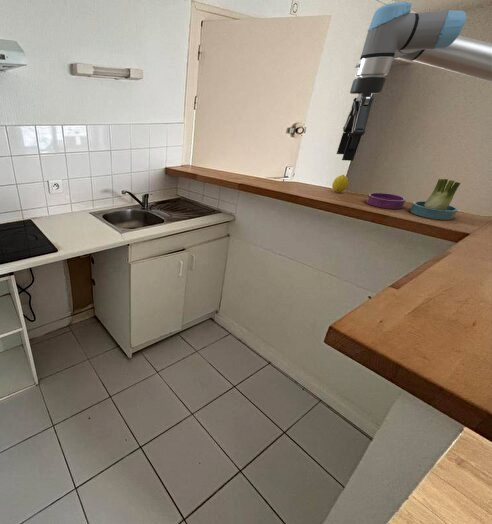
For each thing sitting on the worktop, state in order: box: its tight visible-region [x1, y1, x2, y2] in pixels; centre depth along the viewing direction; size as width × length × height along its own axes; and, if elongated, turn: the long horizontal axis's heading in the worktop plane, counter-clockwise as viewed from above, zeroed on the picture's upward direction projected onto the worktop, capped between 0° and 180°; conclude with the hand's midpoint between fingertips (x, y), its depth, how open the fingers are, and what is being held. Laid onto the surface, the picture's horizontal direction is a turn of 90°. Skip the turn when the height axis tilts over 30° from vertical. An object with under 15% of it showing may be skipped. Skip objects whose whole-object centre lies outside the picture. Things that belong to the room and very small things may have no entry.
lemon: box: [331, 174, 349, 194], centre depth 122 cm, size 6×6×8 cm
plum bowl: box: [365, 192, 407, 210], centre depth 108 cm, size 11×11×4 cm
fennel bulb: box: [424, 178, 461, 211], centre depth 95 cm, size 6×5×12 cm
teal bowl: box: [409, 200, 459, 221], centre depth 98 cm, size 11×11×4 cm
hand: (344, 157), depth 89 cm, fingers open, 13 cm apart
